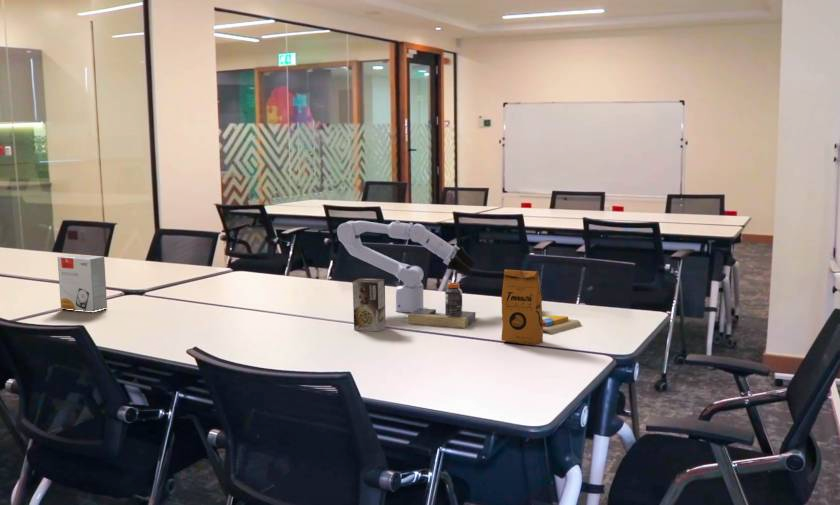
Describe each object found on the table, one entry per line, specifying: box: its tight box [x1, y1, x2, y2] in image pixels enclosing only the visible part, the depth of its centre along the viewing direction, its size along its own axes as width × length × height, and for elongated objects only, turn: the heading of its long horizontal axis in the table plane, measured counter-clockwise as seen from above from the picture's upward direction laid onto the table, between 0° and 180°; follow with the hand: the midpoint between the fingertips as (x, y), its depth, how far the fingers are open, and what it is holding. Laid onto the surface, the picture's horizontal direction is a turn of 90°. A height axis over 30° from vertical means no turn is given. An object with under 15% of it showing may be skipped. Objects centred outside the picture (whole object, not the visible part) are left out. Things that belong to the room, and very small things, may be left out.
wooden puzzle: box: [542, 313, 582, 335], centre depth 264 cm, size 18×19×4 cm
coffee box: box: [351, 278, 387, 332], centre depth 260 cm, size 9×6×16 cm
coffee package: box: [501, 269, 544, 346], centre depth 241 cm, size 10×12×22 cm
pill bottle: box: [444, 282, 463, 316], centre depth 281 cm, size 6×6×11 cm
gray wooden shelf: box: [407, 308, 476, 329], centre depth 270 cm, size 20×11×3 cm, turn 69°
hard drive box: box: [57, 254, 108, 311], centre depth 294 cm, size 16×8×20 cm, turn 68°
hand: (471, 268), depth 283 cm, fingers open, 7 cm apart
